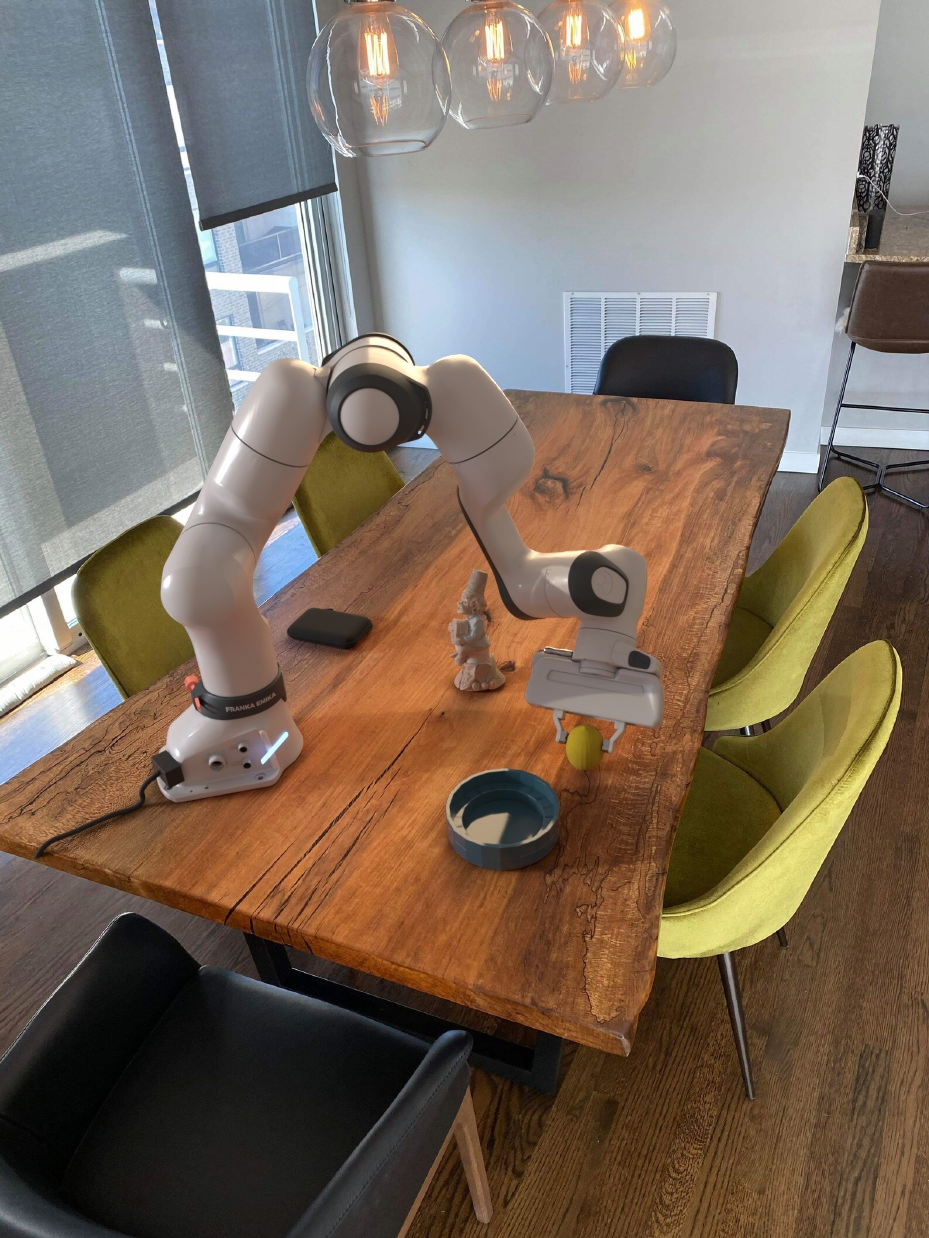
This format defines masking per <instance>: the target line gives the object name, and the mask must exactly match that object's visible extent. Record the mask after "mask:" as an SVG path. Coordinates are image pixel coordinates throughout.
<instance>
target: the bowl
mask: <svg viewBox="0 0 929 1238" xmlns="http://www.w3.org/2000/svg"><path fill="white" fill-rule="evenodd" d="M444 806H445V807H444V809H445V818H446V828H447V838H448V839H447V840H448V842H449V844H450V845H451V847H452V848H453V850H454V852H455V853H456V854H457V855H459V856H460V857H461V858H462V859H463V860H464V861H466V862H468V863H470V864H473V865H475V866H478V867H480V868H482V869H489V870H497V871H506V870H507V871H508V870H517V869H522V868H524V867H527V866H530V865H532V864H533V865H534V864H536V863H538V862H539V861H540V860H542V859H543V858H544V857H545V856H547V855H548V854H550V853H551V851H552V850H553V849H554V847H555V845H556V844H557V843H558V842H559V837H560V832H561V804H560V801H559V796H558V794H557V792H556V791H555V789H554V788H553V787H552V786H551V784H550V783H549V782H548V781H546V780H545V779H544V778H541V777H540V776H539V775H537V774H534V773H531V772H529V771H526V770H523V769H515V768H507V767H503V768H491V769H486V770H483V771H480V772H476V773H474V774H471V775H469V776H468V777H466V778H465V779H463V780H461V781H460V782H458V783H457V784H456V786H455V787H454V788H453V789H452V790H451V791H450V792H449V795H448V796H447V800H446V802H445V805H444Z"/></svg>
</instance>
